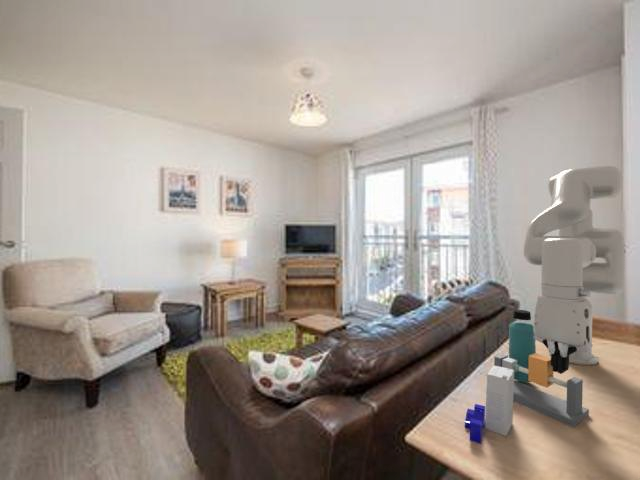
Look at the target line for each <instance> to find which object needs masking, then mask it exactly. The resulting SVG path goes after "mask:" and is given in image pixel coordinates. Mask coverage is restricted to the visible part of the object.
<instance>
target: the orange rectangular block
mask: <svg viewBox="0 0 640 480" xmlns="http://www.w3.org/2000/svg"><path fill="white" fill-rule="evenodd" d="M548 376H550V377H553V378H554V371H553V366H551V356H550V357H549V356H547V355H543V354H539V353H537V352H536V353H534V354H532V355H530V356H529V375H528V381H530V382H529V383H533V384H535V385H539V386H542V387H544V388H547V389H548V388H549V387H550V386H553V385H554V383H552V382H549V381H548Z"/></svg>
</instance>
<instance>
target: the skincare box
mask: <svg viewBox="0 0 640 480" xmlns="http://www.w3.org/2000/svg"><path fill="white" fill-rule="evenodd" d="M514 381H515V379H514V370H512V369H508V368H503V367H499V366H494V365H492V367H491V369H490V370H489V371H488V373H487V375H486V392H485V394H486V395H485V396H486V397H485V399H486V400H485V426H484V429H485V430H488V431H490V432H491V431H492V432H493V433H496V434H500V435H502V436H508V434H509V432H510V430H511V427H512V425H513V423H514V422H513V421H514V420H513V419H514V418H513V417H514V402H513V393H514Z"/></svg>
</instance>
